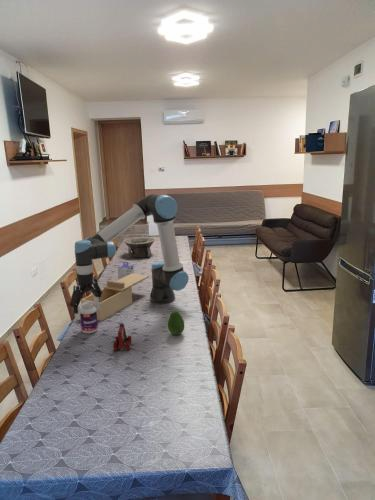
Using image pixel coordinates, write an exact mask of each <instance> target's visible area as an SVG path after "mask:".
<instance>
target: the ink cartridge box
mask: <svg viewBox="0 0 375 500" xmlns="http://www.w3.org/2000/svg"><path fill="white" fill-rule="evenodd" d="M132 273H133V274H135V272H134V264H129V261H122V264H120V265H118V266H117V277H118V279H117V280H119V279H121V278H123V277H125V276H128V275H130V274H132Z"/></svg>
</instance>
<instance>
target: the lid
mask: <svg viewBox="0 0 375 500" xmlns="http://www.w3.org/2000/svg"><path fill="white" fill-rule="evenodd" d="M149 277H150V276H149V275H144V274H139V273H134V274H133V273H132V274H130V275H128V276H125V277H123V278H121V279H119V280H118V279H117V280H110V279H109V280H107V281H106V285H105V286H103V289H104V288H106V289H111V290H117V291H124V290H126V289H127V288H129V287H133V286H135V285H137V284H139V283H141V282H142V281H145V280H147V279H148V278H149Z"/></svg>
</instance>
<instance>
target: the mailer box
mask: <svg viewBox="0 0 375 500" xmlns="http://www.w3.org/2000/svg"><path fill="white" fill-rule="evenodd" d="M132 287H133V286H131V287H129V288H127V289H126V290H124V291H117V290H111V289H106V288H104V287H103V288H102V289H101V291H102V294H101V297H99V299H100V302H99V308H100V309H99V310H97V322H98V321H99V322H103V321H104V320H106V319H107V318H109V317H111V316H112V315H115V314H116V313H118V312H119V311H121V310H123V309H124V308H126V307H128V306H129V305H132V304H133V291H132ZM94 297H96V296H95V295H94V294H93V293H92V294H90V295H88V296H86V297H82V299H81V301H80V305H81V307H82V303H84V302H93V304H94Z"/></svg>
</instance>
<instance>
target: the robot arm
mask: <svg viewBox="0 0 375 500" xmlns="http://www.w3.org/2000/svg"><path fill="white" fill-rule="evenodd" d="M177 203H178V202H177V201H176V200H175V199H174V198H173V197H172V196H170V195H167V194H158V193H157V194H156V193H151V194H148V195H146V196H144V197H142V198H141V199H140V200H138V201H136V202H134V203H133V205H132V207H131V208H130V209H129V210H127V211H126V212H125V213H124V214H122V215H120V216H119V217H117V219H115V220H114V221H113V222H111V223H110V224H108V225H107V226H105V227H104V228H102V229H101V230H100V231H99V232H97V233H96V234H95V235H93V236H87V237H86V238H85V239H84V240H83V239H82V240H77V241H76V242H74V255H75V256H74V257H75V258H74V259H75V268H76V280H77V282H78V285H73V291H72V294H71V295H72V296H71V298H70V302H69V307H71V308H73V314H74V319H75V320H79V321H80V319H81V318H80V309H81V308H80V306H79V305H80V304H81V299H83V296H84V295H85V294H86V293H87V292H91V293H92V294H94V295H95V296H96V297H94V307H95V308H96V309H97V310H99V309H100V308H99V302H100V299H99V297H101V294H102V291H101V290H102V289H101V287H100V285H99V283H98V279H97V278H94V273H93V272H94V269H93V268H94V267H93V260H98V259H105V258H111V257H114V256H115V255H116V253H117V249H116V248H117V247H116V244H115V243H114V242H113V240H114V239H116V238H118V236H120V235H122V234H123V233H124V232H126V231H127V230H128V229H129V228H131V227H132V226H133V225H135V224H136V223H137V222H138V221H140V220H141V219H142V220H145V219H146V218H147V217H149V216H152V219H153V222H154V224H156V225H157V231H158V237H159V241H160V242H159V243H160V248H161V253H162V257H163V261H162V260H161V261H156V262H154V263H152V264H151V283H152V284H151V286H152V287H151V291H150V294H149V301H151V302H153V303H155V304H168V303H172V302H173V301H175V299H176V294H175V292H174V291H181V290H183V289H185V288H186V286H187V284H188V283H189V279H190V278H189V275H188V273H187V272H186V271H185V270H184V266H183V263H182V262H180V258H179V250H178V245H177V239H176V231H175V228H174V221H175V220H176V217H175V216H176V215H177V212H178V204H177Z"/></svg>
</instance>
